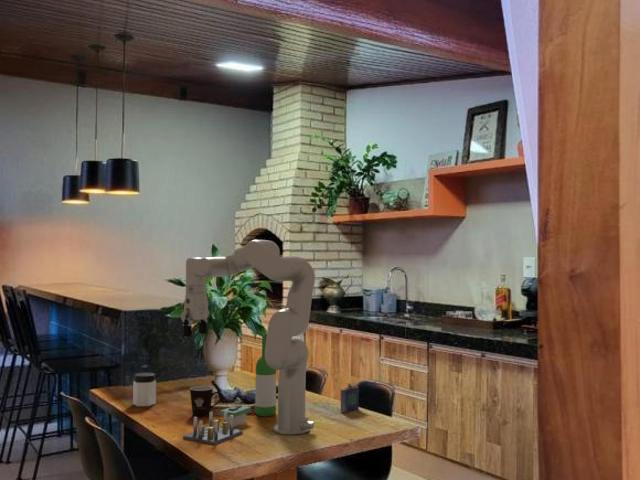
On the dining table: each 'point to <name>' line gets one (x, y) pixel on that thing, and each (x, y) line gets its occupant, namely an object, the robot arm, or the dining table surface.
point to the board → (236, 410)
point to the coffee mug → (202, 400)
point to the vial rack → (213, 431)
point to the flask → (349, 399)
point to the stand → (237, 420)
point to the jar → (144, 389)
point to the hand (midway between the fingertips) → (195, 334)
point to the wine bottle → (265, 386)
